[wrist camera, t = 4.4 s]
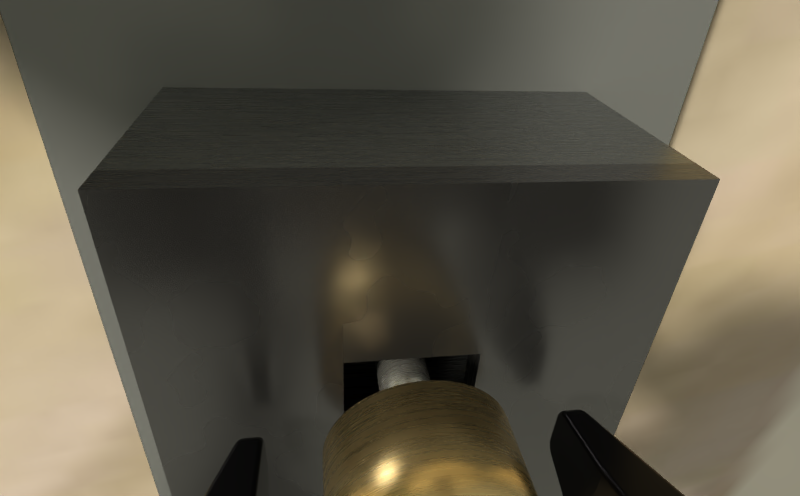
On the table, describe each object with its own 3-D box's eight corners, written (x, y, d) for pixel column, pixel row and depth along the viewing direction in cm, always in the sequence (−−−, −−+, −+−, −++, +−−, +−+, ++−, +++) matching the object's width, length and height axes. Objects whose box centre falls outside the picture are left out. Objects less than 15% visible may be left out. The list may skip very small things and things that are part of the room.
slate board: (544, 452, 21) (555, 475, 20) (172, 489, 19) (166, 516, 18) (754, -211, 10) (794, -221, 9) (-67, -300, 8) (-111, -326, 7)
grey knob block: (517, 377, 17) (580, 517, 13) (221, 399, 15) (192, 564, 11) (586, 91, 12) (720, 179, 8) (162, 87, 10) (76, 189, 7)
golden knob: (443, 319, 15) (565, 689, 8) (312, 327, 14) (315, 733, 7) (457, 204, 13) (638, 560, 6) (306, 209, 12) (303, 605, 5)
